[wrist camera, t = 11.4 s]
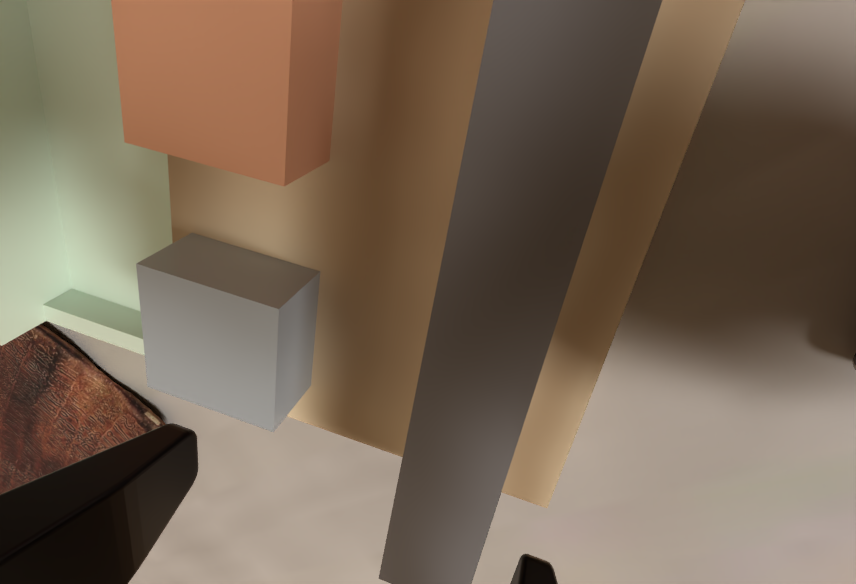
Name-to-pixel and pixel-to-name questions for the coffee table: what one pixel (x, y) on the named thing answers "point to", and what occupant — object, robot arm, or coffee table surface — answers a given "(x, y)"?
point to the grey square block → (228, 328)
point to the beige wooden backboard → (431, 209)
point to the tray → (72, 177)
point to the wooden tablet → (59, 408)
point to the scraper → (508, 263)
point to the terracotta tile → (230, 81)
